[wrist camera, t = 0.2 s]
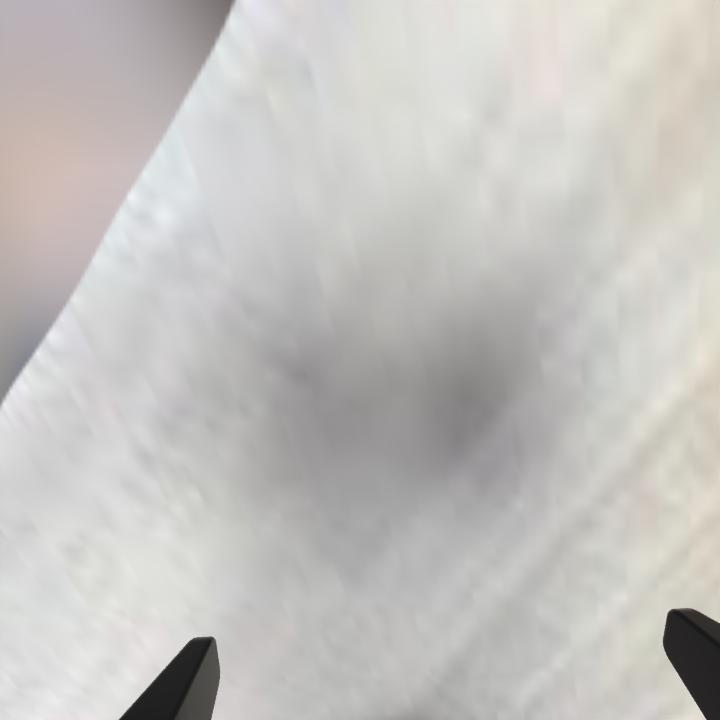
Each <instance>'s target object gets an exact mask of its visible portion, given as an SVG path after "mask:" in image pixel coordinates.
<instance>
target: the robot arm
mask: <svg viewBox="0 0 720 720" xmlns="http://www.w3.org/2000/svg"><path fill="white" fill-rule="evenodd" d="M663 646H664V650H665V652H666V655H667V657H668V658H669V660H670V662H671V663H672V665H673V667H674V668H675V670H676V671H677V673H678V675H679V676H680V678H681V679H682V681H683V683H684V684H685V686H686V687H687V689H688V691H689V692H690V694H691V695H692V697H693V699H694V700H695V702H696V704H697V705H698V707H699V708H700V710H701V712H702V713H703V715H704V716H705V718H706V720H720V623H718V622H716V621H714V620H713V619H711V618H709V617H707V616H706V615H704V614H702V613H700V612H698V611H696V610H694V609H690V608H681V609H671V610H670V611H669V612H668V614H667V619H666V625H665V631H664V636H663ZM219 680H220V666H219V659H218V652H217V645H216V640H215V639H214V637H197V638H193V639H192V640H190V641H189V642H188V643H187V644H186V646H185V647H184V648H183V649H182V650H181V651H180V652H179V653H178V654H177V656H176V657H175V658H174V659H173V660H172V661H171V662H170V663H169V664H168V666H167V667H166V668H165V669H164V670H163V671H162V672H161V673H160V674H159V676H158V677H157V678H156V679H155V680H154V681H153V682H152V683H151V684H150V686H149V687H148V688H147V689H146V690H145V691H144V692H143V693H142V694H141V696H140V697H139V698H138V699H137V700H136V701H135V702H134V703H133V704H132V706H131V707H130V708H129V709H128V710H127V711H126V712H125V713H124V715H123V716H122V717H121V718H120V719H119V720H211V718H212V713H213V709H214V704H215V700H216V695H217V691H218V686H219Z"/></svg>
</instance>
